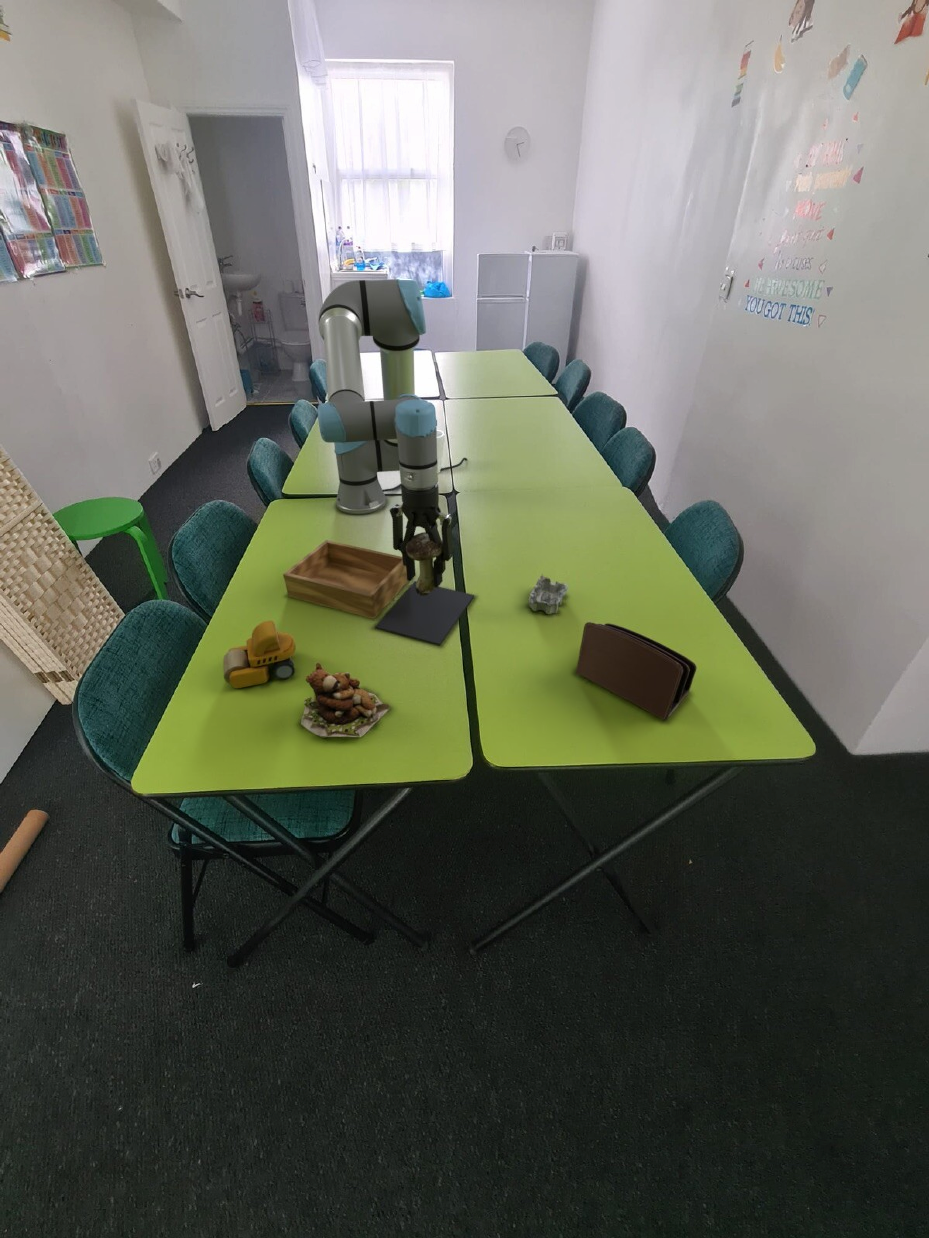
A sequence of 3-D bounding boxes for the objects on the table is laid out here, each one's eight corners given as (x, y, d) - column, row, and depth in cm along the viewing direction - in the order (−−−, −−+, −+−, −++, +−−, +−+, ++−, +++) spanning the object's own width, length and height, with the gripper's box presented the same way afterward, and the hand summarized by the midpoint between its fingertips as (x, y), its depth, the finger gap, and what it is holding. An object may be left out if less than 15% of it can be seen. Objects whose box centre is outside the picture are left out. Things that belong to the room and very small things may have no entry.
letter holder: (665, 722, 103) (683, 665, 94) (574, 673, 113) (583, 618, 105) (689, 693, 109) (707, 637, 100) (600, 649, 119) (610, 595, 111)
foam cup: (416, 474, 195) (413, 437, 187) (422, 464, 202) (420, 428, 194) (442, 476, 193) (441, 439, 186) (447, 466, 201) (446, 430, 193)
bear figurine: (360, 753, 97) (352, 704, 90) (289, 728, 102) (276, 679, 94) (397, 701, 107) (392, 653, 100) (331, 680, 112) (322, 633, 105)
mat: (415, 583, 140) (415, 581, 140) (474, 597, 135) (474, 595, 135) (375, 628, 125) (374, 626, 125) (439, 646, 120) (439, 643, 120)
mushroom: (439, 608, 123) (439, 550, 113) (401, 603, 124) (398, 544, 115) (448, 585, 130) (449, 528, 121) (412, 579, 131) (411, 523, 122)
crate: (329, 560, 149) (326, 539, 145) (409, 579, 141) (408, 558, 138) (288, 596, 136) (282, 574, 132) (374, 619, 128) (371, 596, 124)
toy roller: (226, 665, 116) (212, 625, 109) (296, 649, 120) (287, 610, 113) (227, 694, 109) (213, 653, 103) (302, 675, 113) (292, 635, 107)
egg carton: (540, 586, 139) (541, 572, 136) (569, 594, 136) (571, 580, 134) (524, 609, 131) (525, 594, 129) (554, 617, 128) (556, 603, 126)
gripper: (368, 483, 111) (379, 580, 125) (455, 498, 105) (457, 599, 119) (386, 469, 117) (395, 564, 131) (470, 483, 111) (470, 581, 125)
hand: (424, 580), depth 125 cm, fingers closed on mushroom, 6 cm apart
